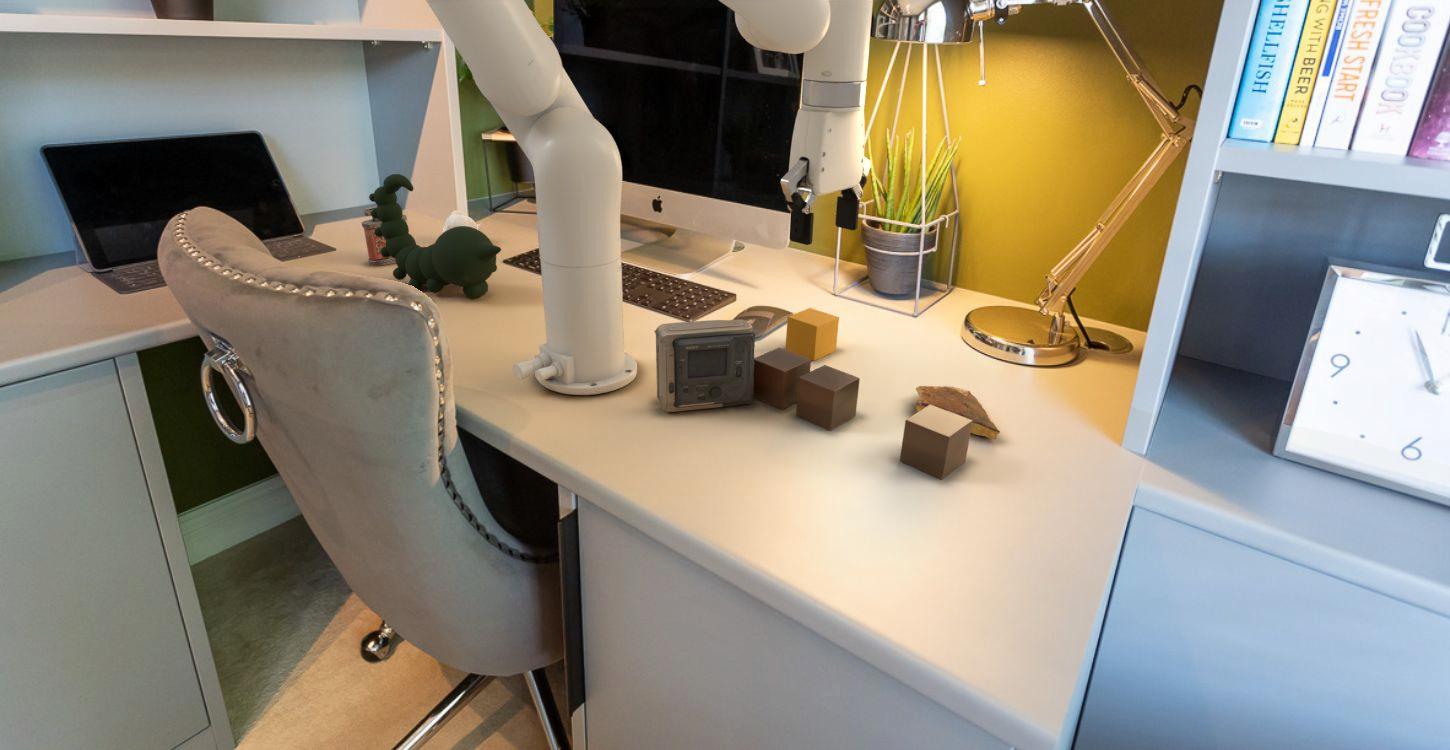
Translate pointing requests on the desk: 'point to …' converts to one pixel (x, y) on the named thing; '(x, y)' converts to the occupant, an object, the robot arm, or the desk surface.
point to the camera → (704, 364)
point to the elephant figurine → (459, 221)
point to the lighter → (375, 240)
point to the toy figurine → (433, 248)
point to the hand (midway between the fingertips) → (824, 235)
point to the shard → (958, 407)
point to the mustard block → (812, 333)
